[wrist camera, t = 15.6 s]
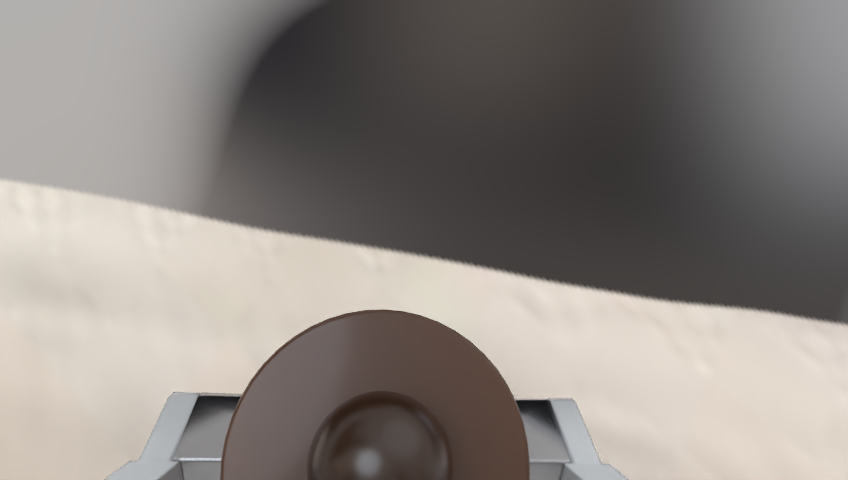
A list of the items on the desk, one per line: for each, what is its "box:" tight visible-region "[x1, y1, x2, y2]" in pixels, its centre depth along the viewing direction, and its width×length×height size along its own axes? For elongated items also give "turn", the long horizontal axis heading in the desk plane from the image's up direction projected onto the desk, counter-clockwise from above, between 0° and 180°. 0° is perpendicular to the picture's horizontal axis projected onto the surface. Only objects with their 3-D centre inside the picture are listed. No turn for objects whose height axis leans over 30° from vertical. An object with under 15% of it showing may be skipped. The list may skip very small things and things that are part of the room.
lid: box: [220, 310, 530, 480], centre depth 11 cm, size 7×7×9 cm
